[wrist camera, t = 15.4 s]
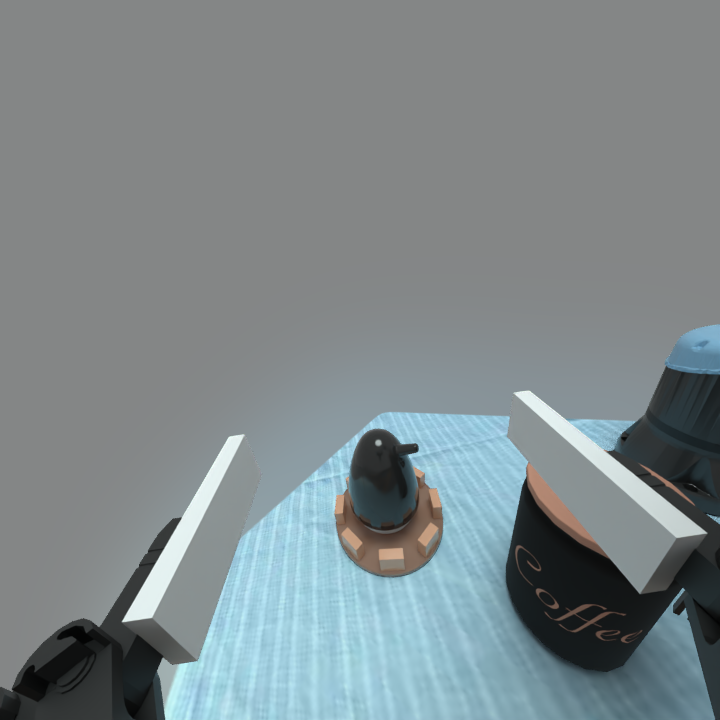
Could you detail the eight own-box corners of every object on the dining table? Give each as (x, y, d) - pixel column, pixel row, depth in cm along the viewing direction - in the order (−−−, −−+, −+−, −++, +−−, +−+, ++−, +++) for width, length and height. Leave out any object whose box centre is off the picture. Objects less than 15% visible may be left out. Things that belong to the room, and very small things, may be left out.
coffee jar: (486, 595, 29) (503, 487, 22) (528, 531, 35) (553, 427, 27) (611, 717, 21) (705, 613, 14) (639, 609, 27) (719, 493, 19)
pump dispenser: (416, 558, 33) (411, 474, 27) (342, 535, 37) (323, 457, 30) (425, 490, 41) (423, 414, 35) (365, 477, 45) (354, 406, 39)
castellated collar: (429, 469, 46) (428, 455, 45) (458, 574, 31) (459, 558, 30) (341, 475, 47) (338, 462, 46) (331, 579, 33) (326, 565, 31)
